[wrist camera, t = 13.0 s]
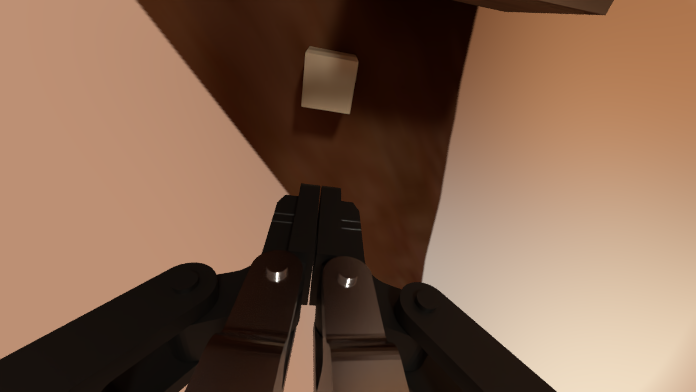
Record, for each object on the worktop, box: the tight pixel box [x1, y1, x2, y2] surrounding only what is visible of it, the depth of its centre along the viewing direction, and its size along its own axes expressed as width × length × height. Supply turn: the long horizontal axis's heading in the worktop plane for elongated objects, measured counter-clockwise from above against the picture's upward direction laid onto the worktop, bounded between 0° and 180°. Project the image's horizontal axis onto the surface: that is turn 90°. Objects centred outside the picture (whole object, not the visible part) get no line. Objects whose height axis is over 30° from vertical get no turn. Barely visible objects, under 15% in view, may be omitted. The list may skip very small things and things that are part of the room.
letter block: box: [301, 46, 359, 114], centre depth 30 cm, size 5×5×5 cm
